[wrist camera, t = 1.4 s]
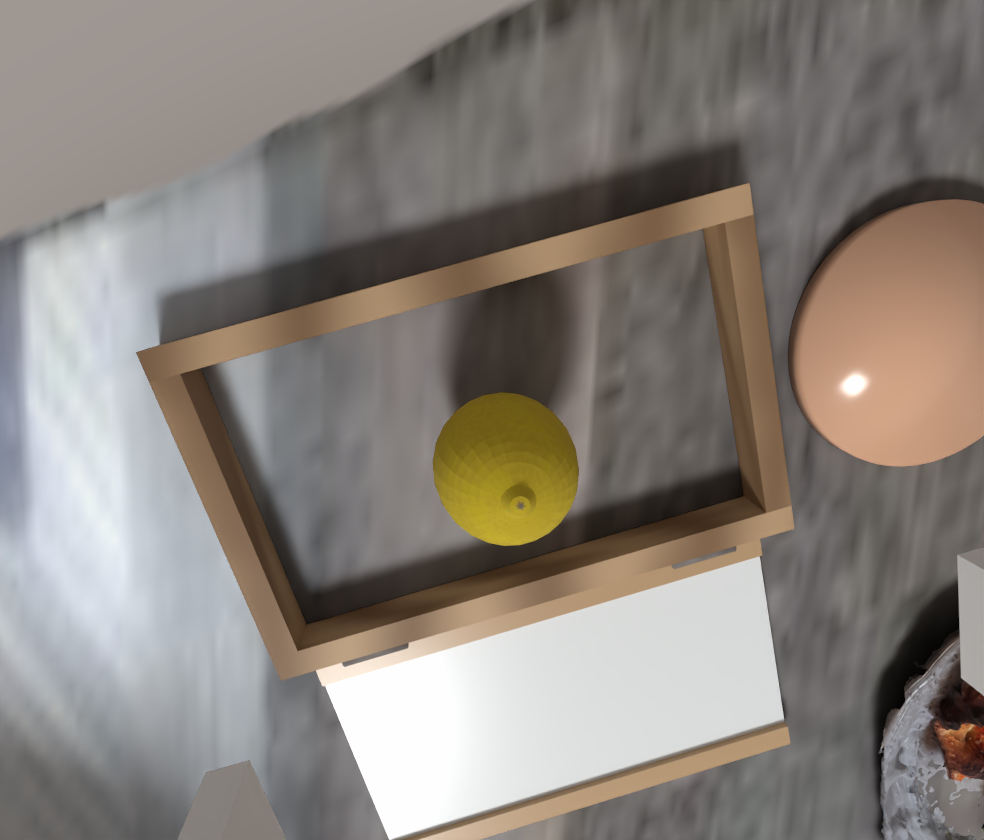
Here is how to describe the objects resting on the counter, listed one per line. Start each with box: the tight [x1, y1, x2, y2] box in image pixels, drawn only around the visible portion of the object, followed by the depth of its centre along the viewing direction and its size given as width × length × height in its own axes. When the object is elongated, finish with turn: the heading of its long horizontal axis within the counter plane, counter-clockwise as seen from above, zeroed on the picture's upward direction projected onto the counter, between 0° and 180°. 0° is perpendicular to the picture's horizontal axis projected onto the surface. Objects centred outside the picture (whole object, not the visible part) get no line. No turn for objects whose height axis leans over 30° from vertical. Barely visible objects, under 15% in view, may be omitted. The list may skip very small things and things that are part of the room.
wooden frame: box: [136, 183, 794, 681], centre depth 26 cm, size 24×16×2 cm, turn 105°
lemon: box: [433, 392, 579, 546], centre depth 23 cm, size 6×6×8 cm
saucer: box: [788, 199, 984, 466], centre depth 27 cm, size 12×12×1 cm
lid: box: [316, 539, 790, 840], centre depth 30 cm, size 22×13×1 cm, turn 105°
